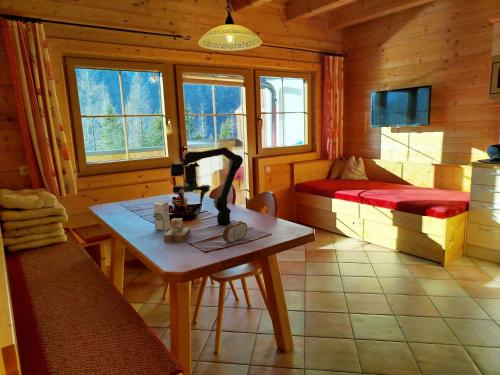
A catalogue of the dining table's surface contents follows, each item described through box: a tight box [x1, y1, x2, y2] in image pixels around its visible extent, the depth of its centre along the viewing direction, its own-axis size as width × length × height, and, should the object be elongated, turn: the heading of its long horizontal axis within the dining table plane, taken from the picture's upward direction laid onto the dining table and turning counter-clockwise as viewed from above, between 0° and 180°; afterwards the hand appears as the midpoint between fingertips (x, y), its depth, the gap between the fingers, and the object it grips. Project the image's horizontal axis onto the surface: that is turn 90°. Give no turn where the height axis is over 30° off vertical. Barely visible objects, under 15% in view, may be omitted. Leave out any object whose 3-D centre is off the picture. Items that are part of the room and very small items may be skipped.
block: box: [170, 217, 184, 233], centre depth 167 cm, size 4×4×6 cm
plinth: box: [163, 227, 192, 243], centre depth 167 cm, size 10×12×3 cm
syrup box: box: [153, 201, 171, 231], centre depth 182 cm, size 6×6×14 cm
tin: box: [222, 220, 248, 244], centre depth 162 cm, size 15×3×8 cm, turn 141°
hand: (192, 204), depth 183 cm, fingers open, 9 cm apart
